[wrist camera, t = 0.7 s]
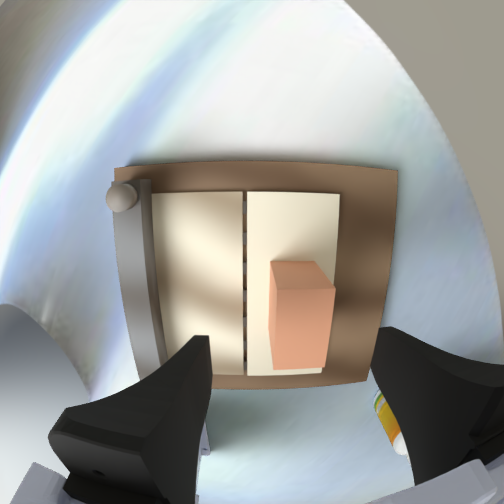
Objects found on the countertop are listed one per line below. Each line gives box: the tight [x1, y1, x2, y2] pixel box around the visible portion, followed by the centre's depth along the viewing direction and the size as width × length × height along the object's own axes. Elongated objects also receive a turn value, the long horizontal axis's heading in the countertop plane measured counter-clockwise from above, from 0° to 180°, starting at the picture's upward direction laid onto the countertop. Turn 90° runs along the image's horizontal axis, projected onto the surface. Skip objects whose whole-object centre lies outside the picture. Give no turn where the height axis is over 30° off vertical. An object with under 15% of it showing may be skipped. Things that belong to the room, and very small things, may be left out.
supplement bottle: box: [373, 390, 411, 466], centre depth 20 cm, size 5×5×10 cm
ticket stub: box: [247, 192, 340, 376], centre depth 17 cm, size 14×6×5 cm, turn 0°
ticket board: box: [106, 161, 398, 389], centre depth 19 cm, size 18×20×5 cm
